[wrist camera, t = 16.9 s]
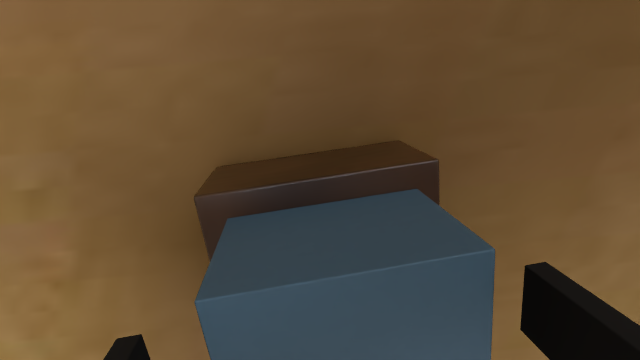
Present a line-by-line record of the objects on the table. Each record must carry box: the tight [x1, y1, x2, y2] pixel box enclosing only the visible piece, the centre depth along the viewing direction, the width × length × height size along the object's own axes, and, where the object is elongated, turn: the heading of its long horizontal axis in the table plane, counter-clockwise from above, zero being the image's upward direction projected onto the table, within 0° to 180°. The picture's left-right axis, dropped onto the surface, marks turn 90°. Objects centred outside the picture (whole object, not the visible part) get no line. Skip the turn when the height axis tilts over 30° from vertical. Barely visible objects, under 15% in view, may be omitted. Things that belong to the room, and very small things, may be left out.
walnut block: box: [194, 141, 439, 261], centre depth 16 cm, size 10×10×4 cm
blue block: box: [195, 189, 495, 360], centre depth 11 cm, size 8×8×5 cm
